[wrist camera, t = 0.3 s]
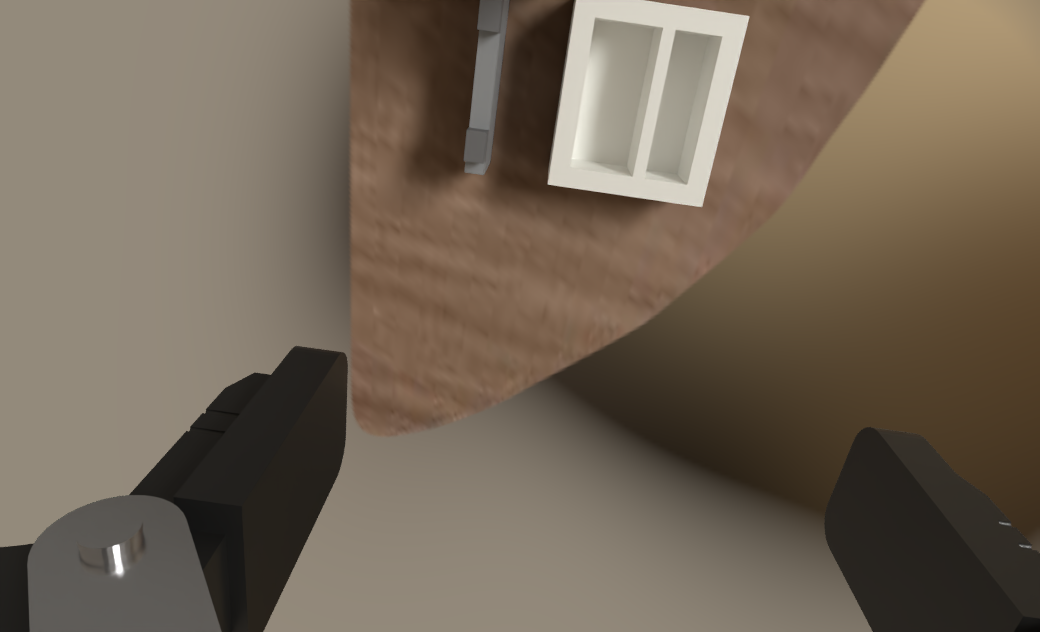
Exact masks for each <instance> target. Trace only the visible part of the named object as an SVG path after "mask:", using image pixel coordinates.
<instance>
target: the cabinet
mask: <svg viewBox="0 0 1040 632" xmlns="http://www.w3.org/2000/svg"><path fill="white" fill-rule="evenodd" d="M509 2H510V0H480V5H479V15H478V25H477V29H478V30H479V37H478V47H477V56H476V66H475V75H474V85H473V95H472V104H471V114H470V124H469V128H468V129H467V132H466V142H465V152H464V161H466V162H465V172H466V173H473V174H479V175H484V174H485V172H486V170H487V168H488V166H489V164H490V162H491V154H492V145H493V137H494V128H495V120H496V112H497V103H498V95H499V86H500V78H501V69H502V61H503V52H504V44H505V36H506V27H507V19H508V10H509ZM748 20H749V16H744V15H737V14H731V13H724V12H717V11H711V10H704V9H697V8H691V7H684V6H677V5H671V4H664V3H657V2H651V1H644V0H574V4H573V11H572V18H571V24H570V31H569V37H568V44H567V50H566V57H565V63H564V70H563V76H562V83H561V89H560V96H559V102H558V109H557V116H556V122H555V129H554V135H553V142H552V148H551V155H550V161H549V168H548V185H554V186H561V187H568V188H575V189H582V190H588V191H595V192H602V193H609V194H616V195H623V196H629V197H636V198H643V199H650V200H657V201H663V202H670V203H677V204H684V205H691V206H698V207H702V205H703V201H704V197H705V193H706V189H707V185H708V181H709V177H710V173H711V169H712V165H713V161H714V157H715V153H716V149H717V145H718V141H719V137H720V133H721V129H722V125H723V121H724V117H725V113H726V109H727V105H728V101H729V97H730V93H731V89H732V85H733V80H734V76H735V72H736V68H737V64H738V60H739V56H740V52H741V48H742V44H743V40H744V36H745V32H746V28H747V24H748Z"/></svg>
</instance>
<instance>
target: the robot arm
mask: <svg viewBox="0 0 1040 632" xmlns="http://www.w3.org/2000/svg"><path fill="white" fill-rule="evenodd" d="M347 373H348V364H347V357H346V355H345V353H343V352H336V351H329V350H321V349H314V348H307V347H300V346H295V347H294V348H293V349H292V350H291V351H290V352H289V353H288V355H287V356H286V357H285V358H284V359H283V361H282V362H281V363H280V364H279V366H278V367H277V368H276V369H275V371H274V372H273V373H272V374H271V375H268V374H260V373H253V374H251V375H249V376H247V377H245V378H243V379H242V380H240V381H238V382H236V383H234V384H232V385H230V386H228V387H226V388H225V389H224V390H223V391H222V392H221V393H220V394H219V395H218V397H217V398H216V399H215V400H214V401H213V402H212V403H211V404H210V405H209V407H208V408H207V409H206V413H205V414H204V413H202V414H201V415H200V417H199V418H198V419H197V420H196V421H195V422H194V423H193V425H192V426H191V427H190V431H189V432H188V431H186V432H185V433H184V434H183V436H182V437H181V438H180V439H179V440H178V441H177V442H176V444H174V446H173V447H172V448H171V449H170V450H169V451H168V452H167V453H166V454H165V456H164V457H163V458H162V459H161V460H160V461H159V462H158V463H157V465H156V466H155V467H154V468H153V469H152V470H151V471H150V472H149V473H148V474H147V476H146V477H145V478H144V479H143V480H142V481H141V482H140V484H139V485H138V486H137V487H136V488H135V489H134V490H133V491H132V492H131V493H130V495H126V496H117V497H113V498H108V499H103V500H100V501H96V502H93V503H90V504H87V505H85V506H82V507H80V508H78V509H76V510H74V511H72V512H70V513H68V514H66V515H65V516H63V517H61V518H60V519H58V520H57V521H55V522H54V523H53V524H51V525H50V526H49V527H48V528H47V529H46V530H45V531H44V532H43V533H42V534H41V535H40V536H39V537H38V538H37V540H36V541H35V543H34V544H28V545H20V546H10V547H0V632H263V631H264V629H265V627H266V625H267V623H268V621H269V618H270V616H271V614H272V612H273V610H274V608H275V606H276V604H277V602H278V599H279V597H280V595H281V593H282V591H283V589H284V587H285V585H286V583H287V581H288V579H289V577H290V574H291V572H292V570H293V568H294V566H295V564H296V562H297V560H298V558H299V555H300V553H301V551H302V549H303V547H304V545H305V543H306V541H307V539H308V537H309V535H310V533H311V531H312V528H313V526H314V524H315V522H316V520H317V518H318V516H319V514H320V512H321V509H322V507H323V505H324V503H325V501H326V499H327V497H328V495H329V493H330V491H331V489H332V487H333V484H334V482H335V480H336V478H337V476H338V473H339V470H340V467H341V463H342V459H343V454H344V448H345V440H346V439H345V438H346V409H347ZM825 535H826V540H827V543H828V546H829V548H830V550H831V552H832V554H833V556H834V558H835V560H836V562H837V564H838V565H839V567H840V569H841V571H842V573H843V575H844V577H845V579H846V581H847V583H848V585H849V586H850V589H851V590H852V592H853V594H854V596H855V598H856V600H857V602H858V604H859V606H860V607H861V610H862V611H863V613H864V615H865V617H866V619H867V621H868V623H869V625H870V627H871V629H872V631H873V632H1040V553H1039V552H1037V551H1036V550H1032V549H1031V544H1030V542H1029V541H1028V540H1027V539H1026V538H1025V537H1024V536H1023V535H1022V534H1021V533H1020V531H1018V529H1017V528H1015V527H1011V522H1010V520H1009V519H1008V518H1007V517H1006V516H1005V515H1004V514H1003V513H1002V512H1001V511H1000V509H999V508H998V507H997V506H996V505H995V504H994V503H993V502H992V501H991V500H990V498H989V497H988V496H986V495H985V494H984V493H982V492H981V491H980V490H978V489H977V488H975V487H974V486H973V485H971V484H970V483H968V482H967V481H966V480H964V479H963V478H961V477H960V476H958V475H957V474H956V473H955V472H954V471H953V470H952V469H951V467H950V466H949V465H948V464H947V463H946V462H945V461H944V460H943V458H942V457H941V456H940V455H939V454H938V453H937V452H936V450H935V449H934V448H933V447H932V446H931V445H930V444H929V443H928V441H926V439H925V438H924V437H922V436H921V435H918V434H914V433H907V432H899V431H893V430H885V429H878V428H871V427H867V428H864V429H863V430H861V431H860V432H859V433H858V434H857V436H856V437H855V440H854V442H853V444H852V446H851V449H850V451H849V454H848V456H847V459H846V461H845V463H844V466H843V469H842V471H841V473H840V476H839V478H838V480H837V483H836V485H835V488H834V490H833V493H832V495H831V497H830V500H829V503H828V505H827V509H826V513H825Z"/></svg>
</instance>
